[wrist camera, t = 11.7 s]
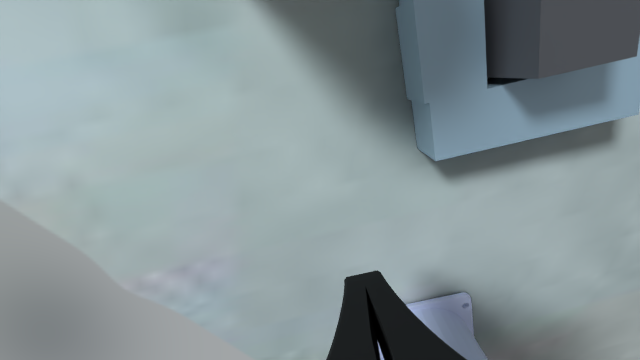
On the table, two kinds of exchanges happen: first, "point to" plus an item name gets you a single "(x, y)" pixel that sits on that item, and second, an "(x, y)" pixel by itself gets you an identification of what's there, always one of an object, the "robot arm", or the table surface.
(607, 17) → the plug
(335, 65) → the table surface
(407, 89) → the socket plate
